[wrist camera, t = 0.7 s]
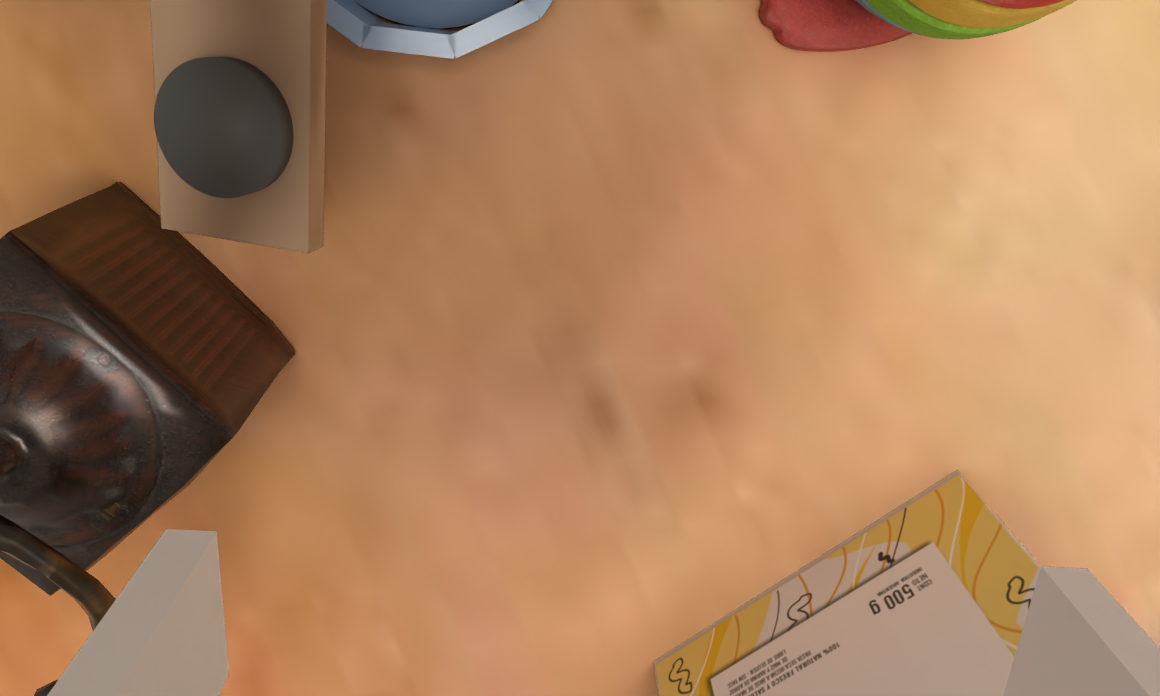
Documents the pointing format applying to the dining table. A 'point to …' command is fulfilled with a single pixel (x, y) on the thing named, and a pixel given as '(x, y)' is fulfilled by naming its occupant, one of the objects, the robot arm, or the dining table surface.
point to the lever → (241, 119)
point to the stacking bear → (894, 20)
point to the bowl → (431, 23)
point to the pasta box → (877, 613)
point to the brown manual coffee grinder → (113, 382)
